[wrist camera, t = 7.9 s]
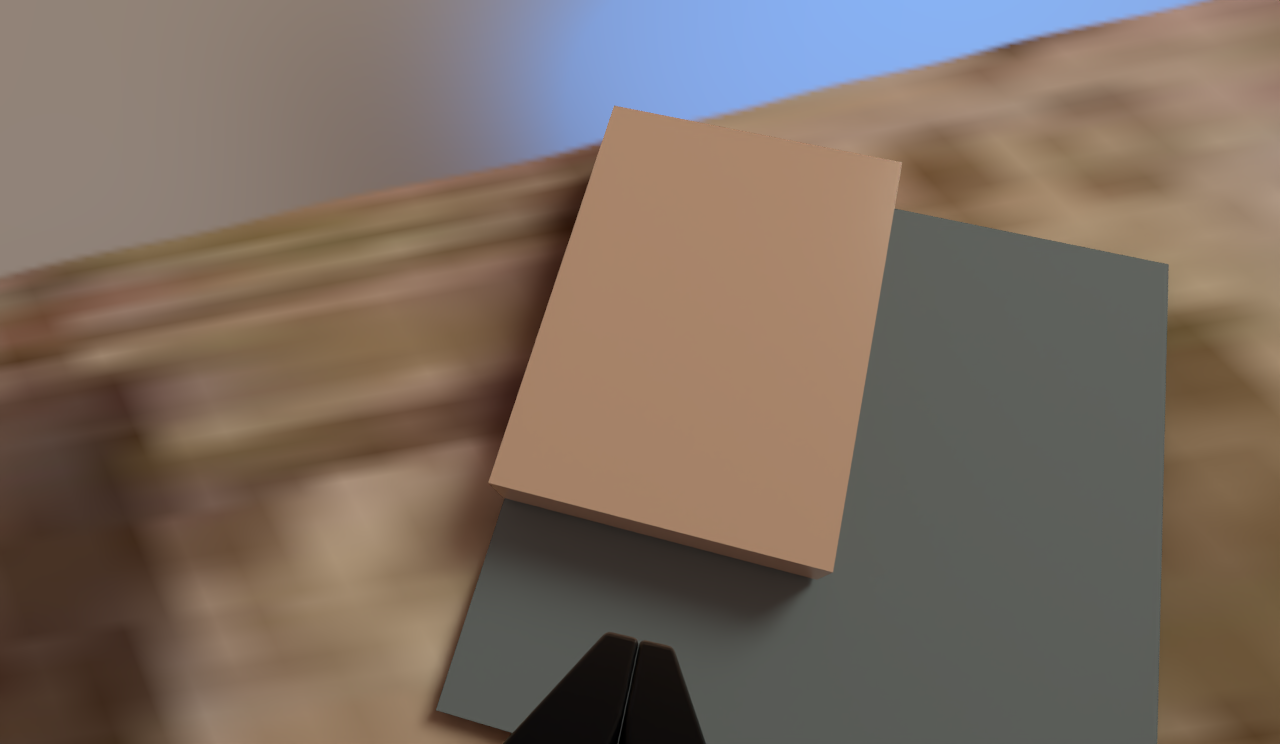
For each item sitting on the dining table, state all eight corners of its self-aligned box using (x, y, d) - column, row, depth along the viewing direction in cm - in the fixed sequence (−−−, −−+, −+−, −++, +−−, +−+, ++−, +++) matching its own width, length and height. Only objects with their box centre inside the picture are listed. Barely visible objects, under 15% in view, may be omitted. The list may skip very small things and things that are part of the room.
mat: (1140, 916, 16) (1152, 923, 16) (440, 708, 18) (435, 710, 18) (1159, 271, 21) (1168, 264, 21) (617, 160, 23) (616, 152, 23)
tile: (833, 572, 16) (902, 162, 20) (488, 482, 17) (614, 105, 21) (815, 579, 18) (882, 203, 22) (504, 498, 19) (617, 149, 23)
